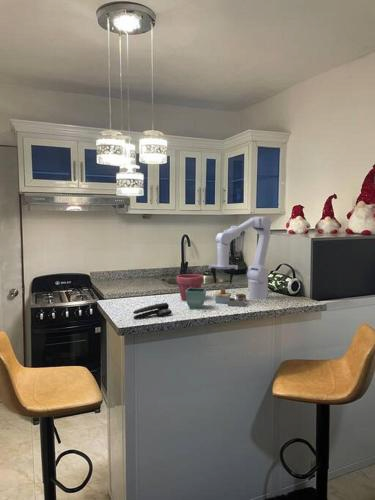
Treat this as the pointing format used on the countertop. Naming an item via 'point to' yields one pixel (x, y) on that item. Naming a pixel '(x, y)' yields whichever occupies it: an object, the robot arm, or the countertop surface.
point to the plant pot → (188, 283)
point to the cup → (221, 300)
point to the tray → (236, 302)
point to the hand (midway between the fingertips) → (223, 283)
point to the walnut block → (241, 296)
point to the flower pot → (195, 297)
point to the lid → (223, 293)
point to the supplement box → (264, 281)
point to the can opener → (153, 310)
